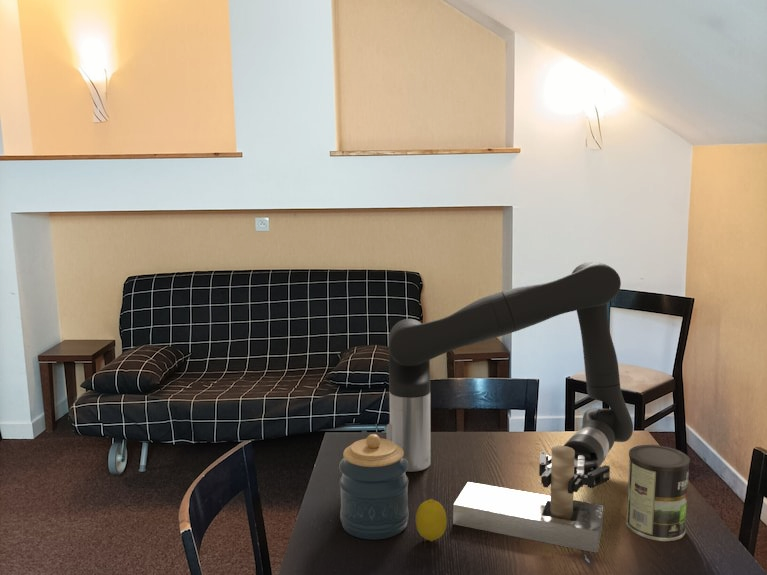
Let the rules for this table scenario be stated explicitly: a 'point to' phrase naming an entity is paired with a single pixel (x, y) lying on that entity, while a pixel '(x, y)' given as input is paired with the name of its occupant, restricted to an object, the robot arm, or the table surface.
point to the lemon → (431, 520)
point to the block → (527, 516)
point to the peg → (561, 482)
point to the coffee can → (657, 492)
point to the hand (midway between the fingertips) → (557, 485)
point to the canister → (374, 489)
